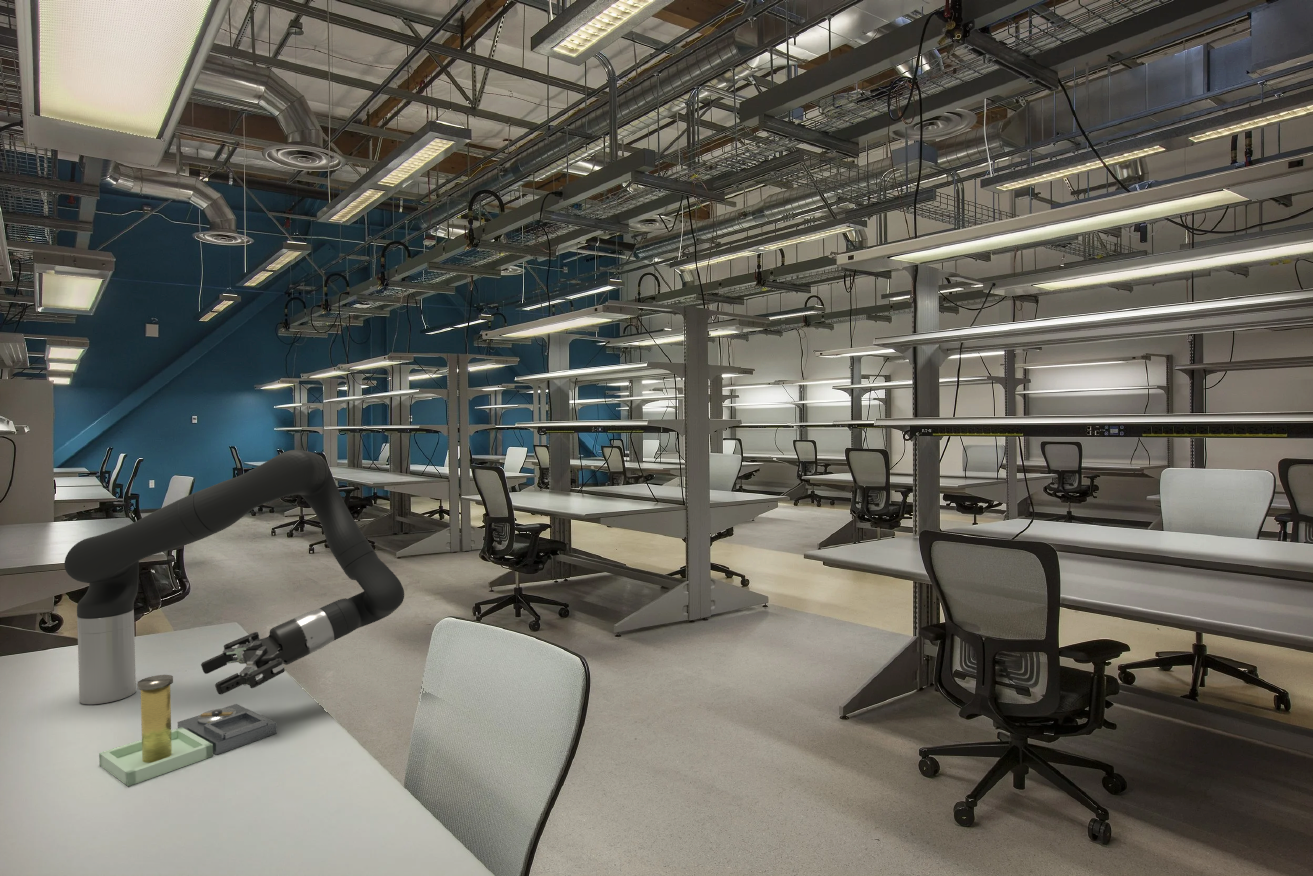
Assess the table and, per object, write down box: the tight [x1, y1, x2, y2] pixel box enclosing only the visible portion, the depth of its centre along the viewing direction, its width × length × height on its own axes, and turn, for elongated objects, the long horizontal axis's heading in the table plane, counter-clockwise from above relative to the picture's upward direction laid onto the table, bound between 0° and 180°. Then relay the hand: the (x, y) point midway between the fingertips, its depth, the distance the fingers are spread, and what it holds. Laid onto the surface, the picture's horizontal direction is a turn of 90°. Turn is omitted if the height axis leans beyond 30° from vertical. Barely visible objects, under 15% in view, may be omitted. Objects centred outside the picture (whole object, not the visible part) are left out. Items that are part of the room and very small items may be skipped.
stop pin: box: [137, 674, 174, 763], centre depth 118 cm, size 5×5×13 cm
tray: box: [98, 727, 214, 787], centre depth 118 cm, size 12×12×2 cm
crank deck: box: [177, 703, 277, 756], centre depth 128 cm, size 15×10×3 cm, turn 55°
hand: (209, 679), depth 127 cm, fingers open, 8 cm apart
